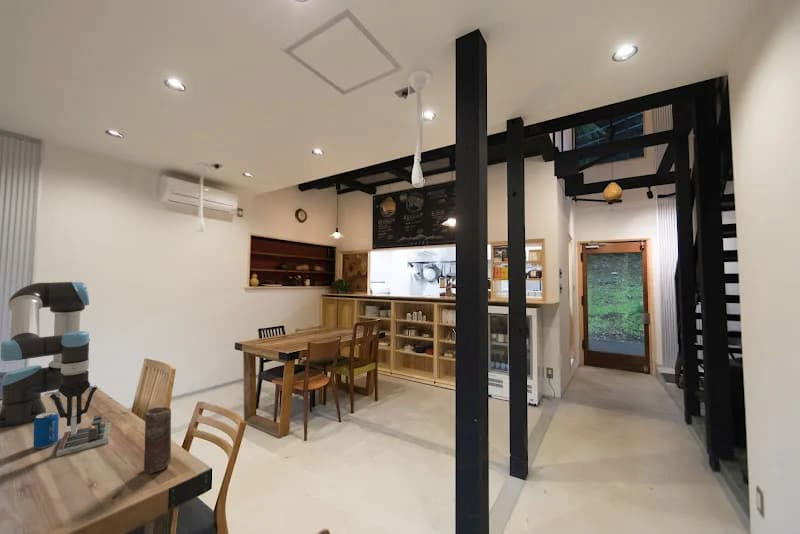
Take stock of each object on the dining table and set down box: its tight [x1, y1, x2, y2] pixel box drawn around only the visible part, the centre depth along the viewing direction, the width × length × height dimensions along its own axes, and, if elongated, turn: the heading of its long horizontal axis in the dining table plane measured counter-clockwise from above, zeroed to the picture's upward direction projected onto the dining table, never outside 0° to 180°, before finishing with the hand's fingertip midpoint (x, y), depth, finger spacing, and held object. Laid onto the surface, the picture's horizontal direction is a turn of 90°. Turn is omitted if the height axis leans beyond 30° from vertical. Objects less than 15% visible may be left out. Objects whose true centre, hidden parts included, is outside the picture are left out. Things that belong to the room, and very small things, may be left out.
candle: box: [143, 406, 172, 475], centre depth 110 cm, size 8×7×20 cm
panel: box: [56, 421, 112, 457], centre depth 128 cm, size 18×14×2 cm
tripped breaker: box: [88, 425, 98, 440], centre depth 125 cm, size 4×2×4 cm, turn 40°
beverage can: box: [33, 410, 60, 449], centre depth 124 cm, size 6×6×12 cm
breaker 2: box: [91, 419, 101, 433], centre depth 130 cm, size 4×2×4 cm, turn 40°
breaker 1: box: [93, 414, 103, 426], centre depth 134 cm, size 4×2×4 cm, turn 40°
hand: (73, 432), depth 122 cm, fingers closed
